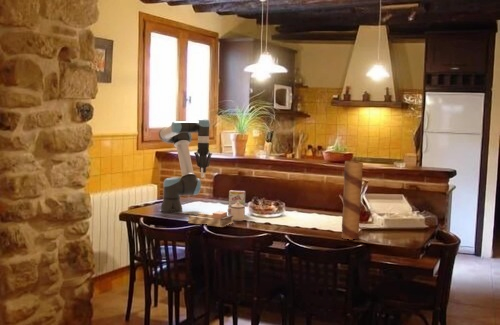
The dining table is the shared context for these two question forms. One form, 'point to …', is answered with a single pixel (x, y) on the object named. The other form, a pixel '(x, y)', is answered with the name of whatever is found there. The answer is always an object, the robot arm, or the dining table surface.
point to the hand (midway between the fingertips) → (202, 177)
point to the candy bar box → (236, 198)
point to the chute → (211, 220)
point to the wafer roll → (351, 199)
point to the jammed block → (219, 215)
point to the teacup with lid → (237, 211)
